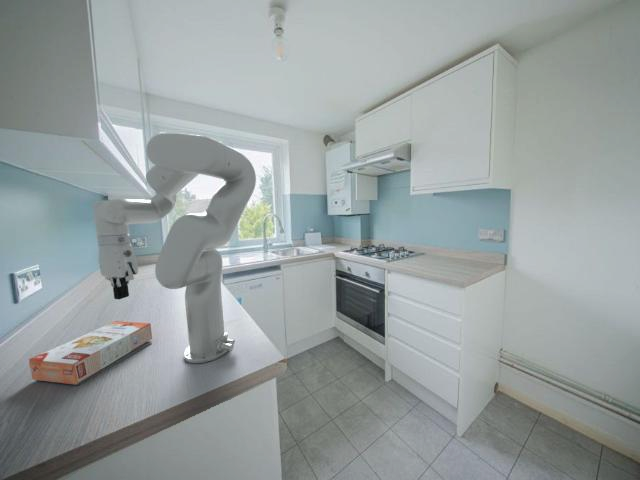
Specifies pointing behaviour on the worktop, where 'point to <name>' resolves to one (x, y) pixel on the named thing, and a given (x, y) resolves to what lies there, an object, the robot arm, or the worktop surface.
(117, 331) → the cracker box
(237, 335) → the worktop surface
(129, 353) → the mat
